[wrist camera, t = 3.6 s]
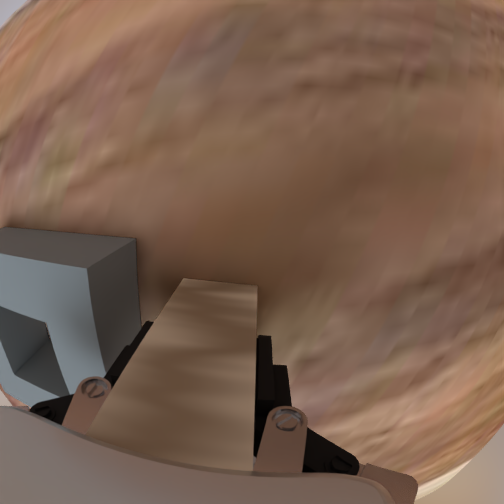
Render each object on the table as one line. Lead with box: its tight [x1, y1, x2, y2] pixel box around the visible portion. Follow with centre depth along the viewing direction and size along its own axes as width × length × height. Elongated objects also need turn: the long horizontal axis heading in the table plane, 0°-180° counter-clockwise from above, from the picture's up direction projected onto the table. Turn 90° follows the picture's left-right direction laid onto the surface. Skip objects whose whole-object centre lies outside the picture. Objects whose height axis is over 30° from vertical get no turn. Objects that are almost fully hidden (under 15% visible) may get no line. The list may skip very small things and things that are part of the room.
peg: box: [85, 278, 258, 471], centre depth 10 cm, size 4×4×12 cm
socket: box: [0, 227, 141, 407], centre depth 14 cm, size 12×12×5 cm
